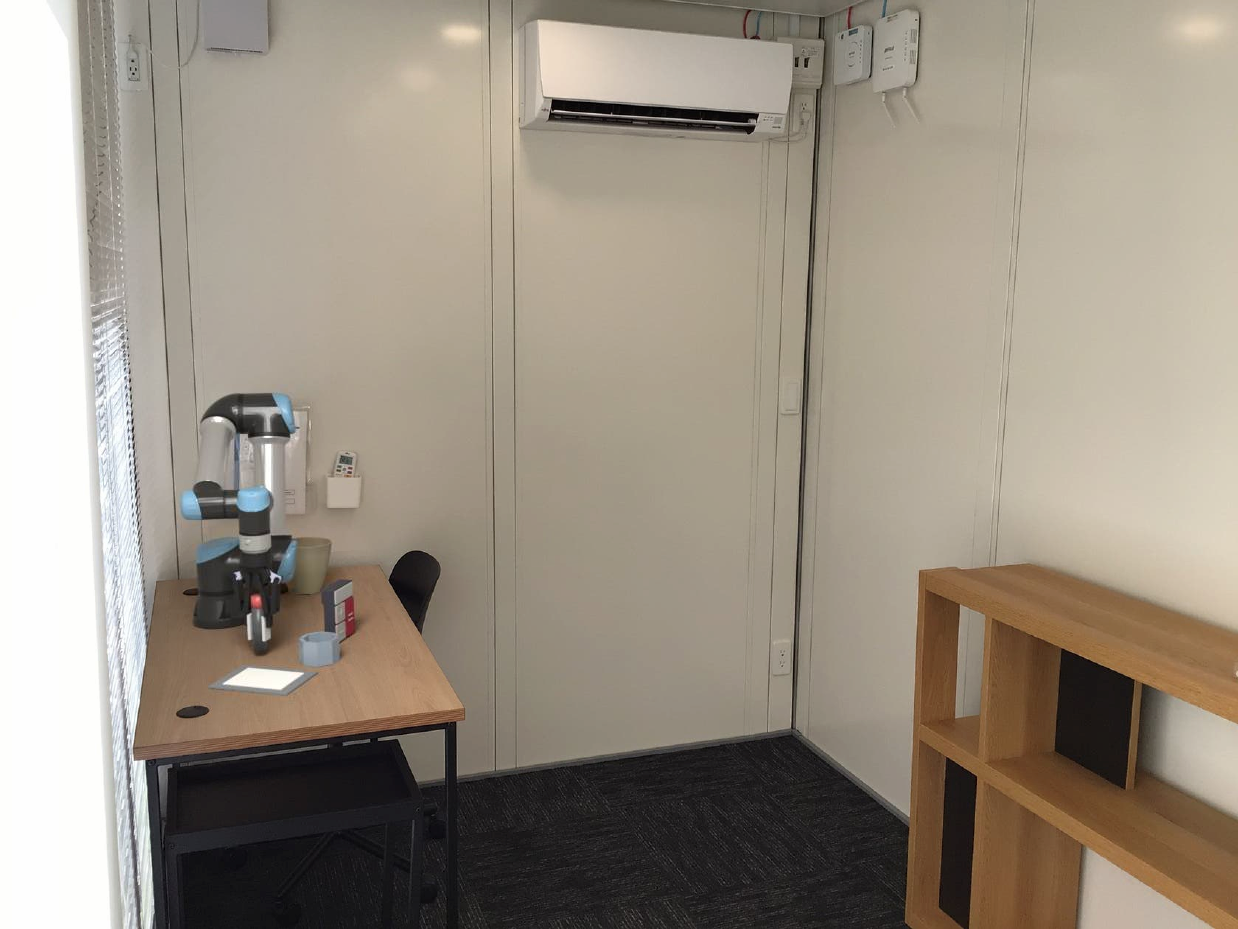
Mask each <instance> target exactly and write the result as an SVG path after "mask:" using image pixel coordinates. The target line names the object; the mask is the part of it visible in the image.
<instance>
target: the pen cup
mask: <svg viewBox="0 0 1238 929" xmlns="http://www.w3.org/2000/svg"><path fill="white" fill-rule="evenodd" d="M298 650H299V651H298V653H299V657H298V658H299V662H300V663H301V664H302V665H303V666H305V667H312V668H313V667H314V668H320V667H325V666H330V665H331V666H332V665H334V664H335V663H337V662H338V661H340V660H341V659H340V656H341V655H340V642H339V636H338V635H336V634H335V633H333V632H325V631H316V632H308V633H305V634H304V635H302V636H300V637H299V638H298Z"/></svg>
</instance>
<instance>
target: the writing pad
mask: <svg viewBox="0 0 1238 929" xmlns="http://www.w3.org/2000/svg"><path fill="white" fill-rule="evenodd" d="M318 674H319V671H312V670H303V669H293V668H281V667H272V666H270V667H269V666H262V665H250V664H249V665H248V664H242V665H241V666H239V667H238V668H236V669H235V670H233V671H231V672H230V673H228V674H227V675H225V676H223V677H221V678H219V679H218V680H216V681H215V682H213V683H211V684H210V685H208V686H207V688H208V689H212V688H215V689H214V690H222V689H224V690H225V691H232V690H234V692H244V693H253V692H254V693H256V694H265V695H274V696H275V695H276V696H284V697H287V696H288V695H291V693H293V692H294V691H296V690H297V689H298V688H300V687H301V686H302V685H304V684H305V683H307V682H308V681H309V680H311V679H312V678H313V677H315V676H316V675H318Z"/></svg>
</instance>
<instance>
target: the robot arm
mask: <svg viewBox="0 0 1238 929" xmlns="http://www.w3.org/2000/svg"><path fill="white" fill-rule="evenodd" d="M295 422H296V421H295V415H294V410H293V404H292V399H291V398H290V396H289V395H288V394H287V393H286V394H285V393H278V392H277V393H276V392H262V393H261V392H260V393H259V392H257V393H256V392H255V393H251V392H250V393H247V392H246V393H239V392H238V393H237V392H236V393H230V394H227V395H225V396H222V397H220V398H219V399H216V400H215V401H214V402H213V403H211V405H210V406H208V408H207V409H206V411H204V413H203V415H202V417H201V419H200V423H199V427H198V428H199V429H198V432H199V435H200V436H201V437H200V438H201V440H200V445H199V449H198V450H199V451H198V455H197V461H196V468H195V473H194V479H193V483H192V489H190V490H184V491H183V492H182V493H181V494H180V513H181V516H182V518H183V519H185V520H186V521H188V520H190V521H207V520H209V521H212V520H235V519H237V520H238V537H237V536H225V537H224V536H223V537H219V538H214V539H210V540H207V541H205V542H202V543H201V544H199V545H198V547H197V548H196V554H195V555H196V556H195V559H196V560H195V564H196V576H197V577H196V578H197V599H196V603H195V606H194V610H193V612H192V613H193V614H192V625H194V626H195V625H196V626H195V627H197V626H198V627H197V628H201V627H202V629H224V628H225V629H227V628H231V627H236V626H239V625H243V624H244V626H245V627H246V628H247V640H248V641H253V636H252V614H251V595H253V594H254V592H255V587H256V586H257V587H258V590H259V591H260V596H261V601H262V606H263V611H264V615H263V616H262V617H261V620H262V641H267V642H268V640H270V639H271V638H272V637H271V636H272V634H271V633H272V631H271V628H272V627H273V626H274V616H273V615H275V614H277V613H279V612H280V611H281V610H280V609H281V594H280V589H281V583H286V582H291V579H292V578H293V575H294V571H295V565H296V557H297V541H295V540H292V538H293V534H292V533H291V532H290V531H289V530H288V529H287V504H286V502H287V498H286V497H287V496H286V495H287V494H286V493H287V492H286V487H287V486H286V483H287V482H286V445H287V444H288V443H289V442H290V441H291V435H293V434H295V433H296V431H297V430H296V423H295ZM236 435H247V441H248V442H249V443H250V444H251V445H252V447H253V448H252V449H253V486H251V487H244V488H242V489H241V488H240V489H225V484H226V483H225V482H226V477H227V471H228V463H229V456H230V451H231V450H230V448H231V443H232V440H233V439H234V438H235V437H236ZM269 583H272V586H271V596H270V591H269ZM243 584H245V589H246V590H245V594H244V585H243Z"/></svg>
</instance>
